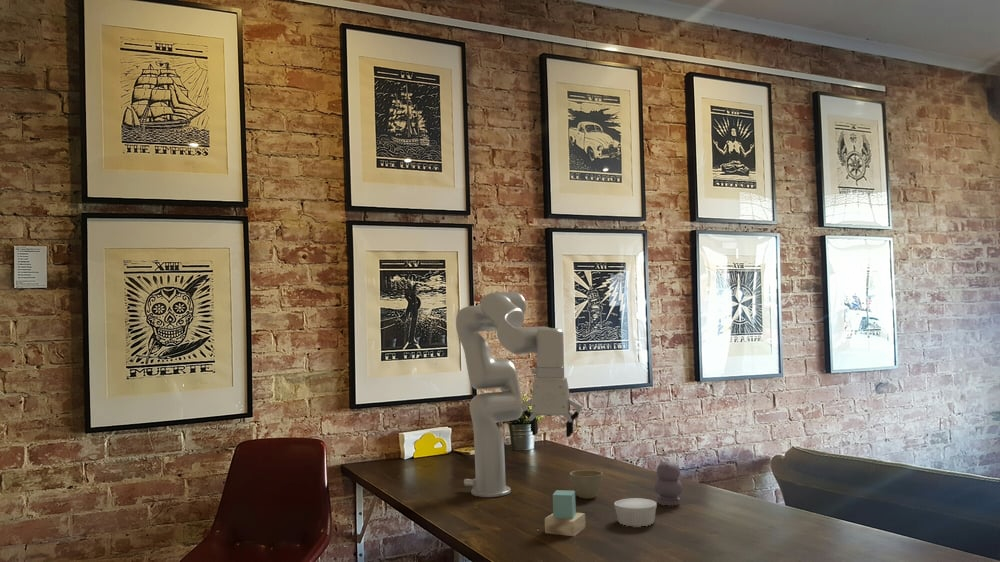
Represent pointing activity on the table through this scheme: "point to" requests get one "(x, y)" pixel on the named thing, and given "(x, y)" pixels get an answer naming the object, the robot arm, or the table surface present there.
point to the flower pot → (586, 482)
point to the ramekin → (635, 511)
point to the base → (565, 525)
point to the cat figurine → (668, 483)
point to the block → (564, 504)
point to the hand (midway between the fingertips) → (551, 435)
